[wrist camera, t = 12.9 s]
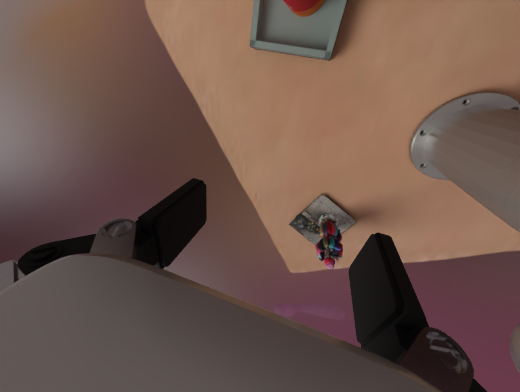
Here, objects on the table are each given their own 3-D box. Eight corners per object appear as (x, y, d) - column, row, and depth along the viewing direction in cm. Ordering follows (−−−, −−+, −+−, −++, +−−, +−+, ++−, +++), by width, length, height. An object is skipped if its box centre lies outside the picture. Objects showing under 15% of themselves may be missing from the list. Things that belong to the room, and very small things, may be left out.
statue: (322, 190, 41) (328, 229, 27) (354, 217, 41) (376, 267, 28) (289, 221, 46) (281, 267, 32) (318, 245, 46) (322, 298, 33)
